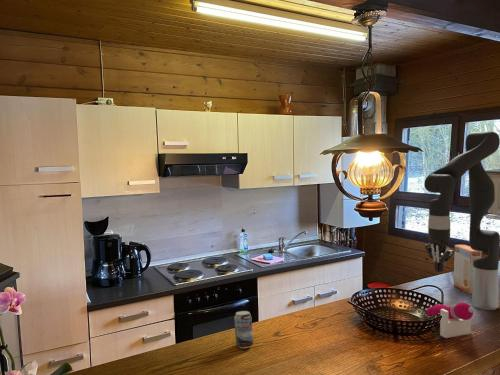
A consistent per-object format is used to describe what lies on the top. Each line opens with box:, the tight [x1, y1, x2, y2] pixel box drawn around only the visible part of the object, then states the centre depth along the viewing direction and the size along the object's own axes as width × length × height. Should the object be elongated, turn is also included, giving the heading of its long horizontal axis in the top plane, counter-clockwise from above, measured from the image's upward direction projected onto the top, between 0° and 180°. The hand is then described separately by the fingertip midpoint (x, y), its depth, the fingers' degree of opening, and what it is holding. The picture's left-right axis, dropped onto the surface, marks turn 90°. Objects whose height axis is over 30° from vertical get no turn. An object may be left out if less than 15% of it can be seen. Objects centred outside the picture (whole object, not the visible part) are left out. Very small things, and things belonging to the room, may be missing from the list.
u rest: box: [439, 309, 472, 339], centre depth 139 cm, size 11×2×10 cm, turn 106°
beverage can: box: [233, 310, 254, 349], centre depth 133 cm, size 6×7×12 cm
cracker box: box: [453, 244, 483, 295], centre depth 184 cm, size 14×6×21 cm, turn 179°
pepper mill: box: [426, 301, 475, 324], centre depth 141 cm, size 7×7×20 cm
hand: (438, 271), depth 146 cm, fingers closed
